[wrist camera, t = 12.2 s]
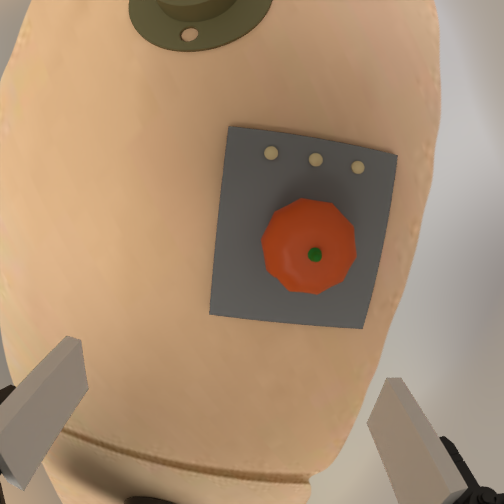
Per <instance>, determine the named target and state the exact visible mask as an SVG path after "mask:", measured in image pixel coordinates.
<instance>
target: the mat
mask: <svg viewBox="0 0 504 504" xmlns="http://www.w3.org/2000/svg"><path fill="white" fill-rule="evenodd" d="M397 157H398V155H395V154H390V153H386V152H382V151H378V150H374V149H369V148H365V147H360V146H355V145H350V144H345V143H340V142H335V141H330V140H324V139H319V138H313V137H307V136H301V135H295V134H288V133H281V132H274V131H266V130H258V129H250V128H241V127H231V126H229V128H228V136H227V144H226V152H225V160H224V168H223V177H222V186H221V195H220V204H219V213H218V223H217V233H216V243H215V253H214V264H213V275H212V287H211V299H210V311H209V314H210V315H218V316H225V317H234V318H242V319H251V320H260V321H269V322H279V323H290V324H301V325H313V326H326V327H340V328H355V329H363V326H364V322H365V319H366V315H367V311H368V308H369V304H370V300H371V296H372V292H373V288H374V284H375V280H376V275H377V271H378V267H379V262H380V258H381V253H382V248H383V243H384V238H385V233H386V228H387V223H388V217H389V211H390V206H391V199H392V193H393V187H394V180H395V172H396V165H397ZM300 198H305V199H310V200H316V201H322V202H329V203H333V204H334V206H335V207H336V208H337V209H338V210H339V211H340V212H341V213H342V215H343V216H344V217H345V218H346V219H347V220H348V221H349V222H350V223H351V224H352V225H353V226H354V234H355V246H356V253H357V257H356V259H355V260H354V262H353V264H352V265H351V267H350V268H349V270H348V272H347V274H346V276H345V278H344V280H343V282H341V283H339V284H336V285H334V286H332V287H330V288H328V289H327V290H325V291H323V292H321V293H320V294H318V295H316V294H310V293H304V292H289V291H288V290H287V289H286V288H285V287H284V286H283V285H282V284H281V283H280V281H279V280H278V279H277V278H276V277H275V278H274V277H273V276H272V275H271V274H270V273H269V272H267V270H266V266H265V259H264V253H263V248H262V244H261V238H262V236H263V234H264V232H265V230H266V228H267V226H268V224H269V222H270V220H271V218H272V216H273V214H274V212H275V211H277V210H279V209H281V208H283V207H285V206H287V205H289V204H291V203H293V202H294V201H296V200H298V199H300Z"/></svg>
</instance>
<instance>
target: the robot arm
mask: <svg viewBox="0 0 504 504" xmlns="http://www.w3.org/2000/svg"><path fill="white" fill-rule="evenodd" d="M87 390H88V383H87V377H86V371H85V365H84V358H83V351H82V343H81V340H80V339H76V338H73V337H69V336H66V337H65V338H64V339H63V340H62V341H61V342H60V343H59V344H58V345H57V346H56V347H55V348H54V349H53V350H52V351H51V352H50V353H49V354H48V355H47V356H46V357H45V358H44V359H43V360H42V361H41V362H40V363H39V364H38V365H37V366H36V367H35V368H34V369H33V370H32V371H31V372H30V373H29V375H28V376H27V377H26V378H25V379H24V380H23V381H22V382H21V383H20V384H19V385H18V386H17V387H15V386H12V385H9V386H7V387H5V388H3V389H1V390H0V475H1V473H2V474H3V476H4V477H5V478H6V480H7V482H9V483H10V484H12V485H14V486H16V487H18V488H19V489H21V490H23V491H24V490H25V488H26V487H27V485H28V484H29V482H30V480H31V478H32V477H33V475H34V473H35V472H36V470H37V468H38V467H39V465H40V463H41V462H42V460H43V459H44V457H45V455H46V454H47V452H48V450H49V449H50V447H51V446H52V444H53V442H54V441H55V439H56V438H57V436H58V435H59V433H60V431H61V430H62V428H63V427H64V425H65V424H66V422H67V421H68V419H69V418H70V416H71V414H72V413H73V411H74V410H75V408H76V407H77V405H78V404H79V402H80V401H81V399H82V398H83V396H84V395H85V393H86V392H87ZM367 425H368V427H369V430H370V432H371V435H372V437H373V439H374V442H375V444H376V447H377V449H378V452H379V454H380V457H381V459H382V462H383V464H384V467H385V469H386V472H387V475H388V477H389V480H390V482H391V485H392V487H393V490H394V493H395V495H396V498H397V501H398V503H399V504H504V493H502V494H497V493H496V492H495V491H494V490H492V489H491V488H489V487H483V486H482V487H480V486H479V485H478V483H477V481H476V479H475V478H474V476H473V475H472V473H471V471H470V470H469V468H468V466H467V465H466V463H465V461H463V458H462V457H461V455H460V454H459V452H458V450H457V449H456V447H455V445H454V444H453V443H452V442H451V441H450V440H448V439H447V438H446V437H445V436H442V437H438V436H437V434H436V432H435V430H434V429H433V427H432V426H431V424H430V422H429V421H428V419H427V417H426V416H425V414H424V413H423V411H422V410H421V408H420V406H419V405H418V403H417V402H416V400H415V399H414V397H413V395H412V394H411V392H410V391H409V389H408V388H407V386H406V385H405V383H404V382H403V380H402V378H386V380H385V383H384V385H383V388H382V390H381V392H380V395H379V397H378V399H377V402H376V404H375V406H374V408H373V410H372V413H371V415H370V417H369V419H368V421H367ZM0 504H5V499H4V495H3V491H2V487H1V483H0ZM124 504H173V503H170V502H166V501H163V500H159V499H154V498H148V497H132V498H128V499H127V500H125V502H124Z"/></svg>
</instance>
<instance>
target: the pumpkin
mask: <svg viewBox="0 0 504 504" xmlns="http://www.w3.org/2000/svg"><path fill="white" fill-rule="evenodd" d="M261 244H262V248H263V253H264V259H265V266H266V270H267V272H269V273H270V274H271V275H272V276H273V277H274V278H275V277H276V278H277V279H278V280H279V281H280V283H281V284H282V285H283V286H284V287H285V288H286V289H287V290H288V291H289V292H304V293H310V294H316V295H318V294H320V293H321V292H323V291H325V290H327V289H328V288H330V287H332V286H334V285H336V284H339V283H341V282H343V280H344V278H345V276H346V274H347V272H348V270H349V268H350V267H351V265H352V264H353V262H354V260H355V259H356V257H357V253H356V246H355V234H354V226H353V225H352V224H351V223H350V222H349V221H348V220H347V219H346V218H345V217H344V216H343V215H342V213H341V212H340V211H339V210H338V209H337V208H336V207H335V206H334V204H333V203H329V202H322V201H316V200H310V199H305V198H300V199H298V200H296V201H294V202H293V203H291V204H289V205H287V206H285V207H283V208H281V209H279V210H277V211H275V212H274V214H273V216H272V218H271V220H270V222H269V224H268V226H267V228H266V230H265V232H264V234H263V236H262V238H261Z"/></svg>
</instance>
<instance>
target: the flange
mask: <svg viewBox="0 0 504 504" xmlns="http://www.w3.org/2000/svg"><path fill="white" fill-rule="evenodd" d="M271 2H272V0H129V15H130V19H131V22H132V24H133V26H134V28H135V29H136V30H137V32H138V33H139V34H140V35H141V36H142V37H143V38H144V39H146V40H147V41H148V42H150V43H152V44H154V45H156V46H158V47H161V48H164V49H167V50H172V51H180V52H196V51H204V50H210V49H214V48H217V47H221V46H224V45H226V44H229V43H231V42H233V41H235V40H237V39H239V38H241V37H242V36H244V35H246V34H247V33H248V32H250V31H251V30H252V29H254V28H255V27H256V26H257V25H258V24H259V23H260V22H261V20H262V19H263V18H264V17H265V15H266V13H267V12H268V10H269V8H270V5H271ZM188 28H194V29H196V30H198V36H197V38H196V39H195V40H193V41H190V42H185V41H182V40H181V34H182V32H183V31H184V30H186V29H188Z"/></svg>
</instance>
